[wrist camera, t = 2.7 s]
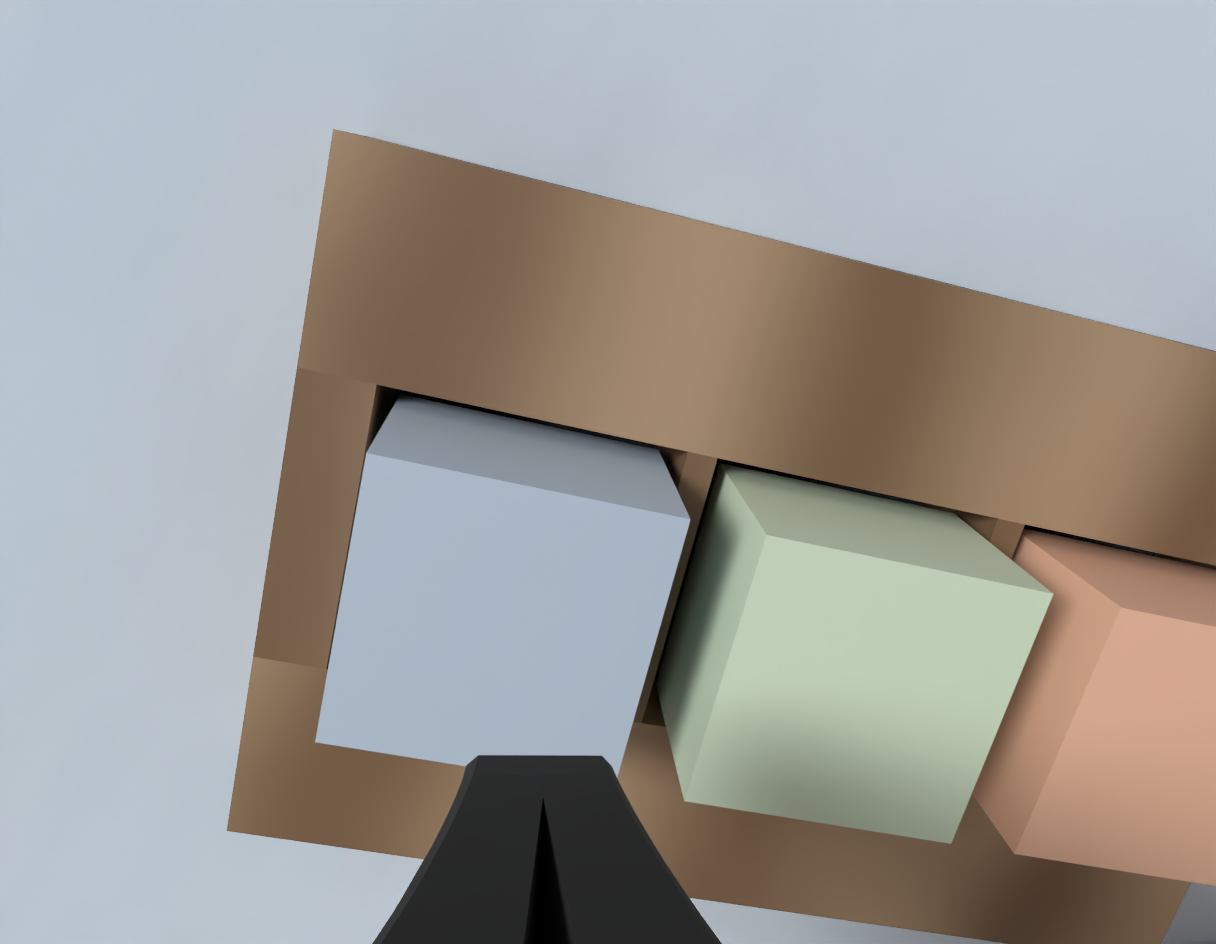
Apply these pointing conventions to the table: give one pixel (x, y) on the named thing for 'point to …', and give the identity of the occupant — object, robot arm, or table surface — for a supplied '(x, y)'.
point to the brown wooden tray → (707, 487)
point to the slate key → (499, 589)
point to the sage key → (841, 656)
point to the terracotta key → (1111, 716)
